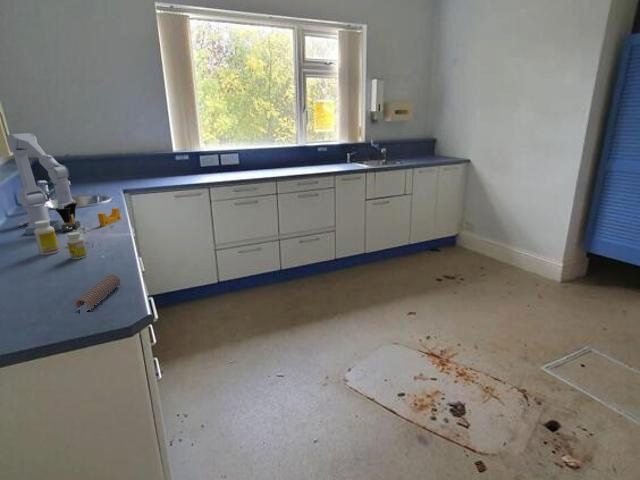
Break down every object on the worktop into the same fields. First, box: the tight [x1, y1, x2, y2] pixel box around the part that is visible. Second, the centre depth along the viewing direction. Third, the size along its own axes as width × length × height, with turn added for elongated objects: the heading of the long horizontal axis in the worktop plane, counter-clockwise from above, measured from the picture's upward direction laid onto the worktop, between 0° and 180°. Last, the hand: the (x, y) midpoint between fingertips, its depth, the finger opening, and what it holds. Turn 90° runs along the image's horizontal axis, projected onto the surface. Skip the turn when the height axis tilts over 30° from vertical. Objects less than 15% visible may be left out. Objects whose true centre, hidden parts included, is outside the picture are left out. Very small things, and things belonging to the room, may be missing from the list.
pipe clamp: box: [97, 207, 122, 227], centre depth 193 cm, size 12×4×6 cm, turn 170°
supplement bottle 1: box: [33, 220, 60, 256], centre depth 151 cm, size 7×7×13 cm
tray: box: [24, 219, 64, 236], centre depth 183 cm, size 11×11×3 cm
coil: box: [73, 273, 122, 309], centre depth 114 cm, size 5×5×18 cm
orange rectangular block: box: [66, 214, 76, 224], centre depth 185 cm, size 3×3×6 cm
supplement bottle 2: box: [66, 231, 88, 260], centre depth 147 cm, size 5×5×10 cm
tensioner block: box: [61, 220, 81, 234], centre depth 183 cm, size 11×6×3 cm, turn 15°
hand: (69, 220), depth 185 cm, fingers open, 7 cm apart
